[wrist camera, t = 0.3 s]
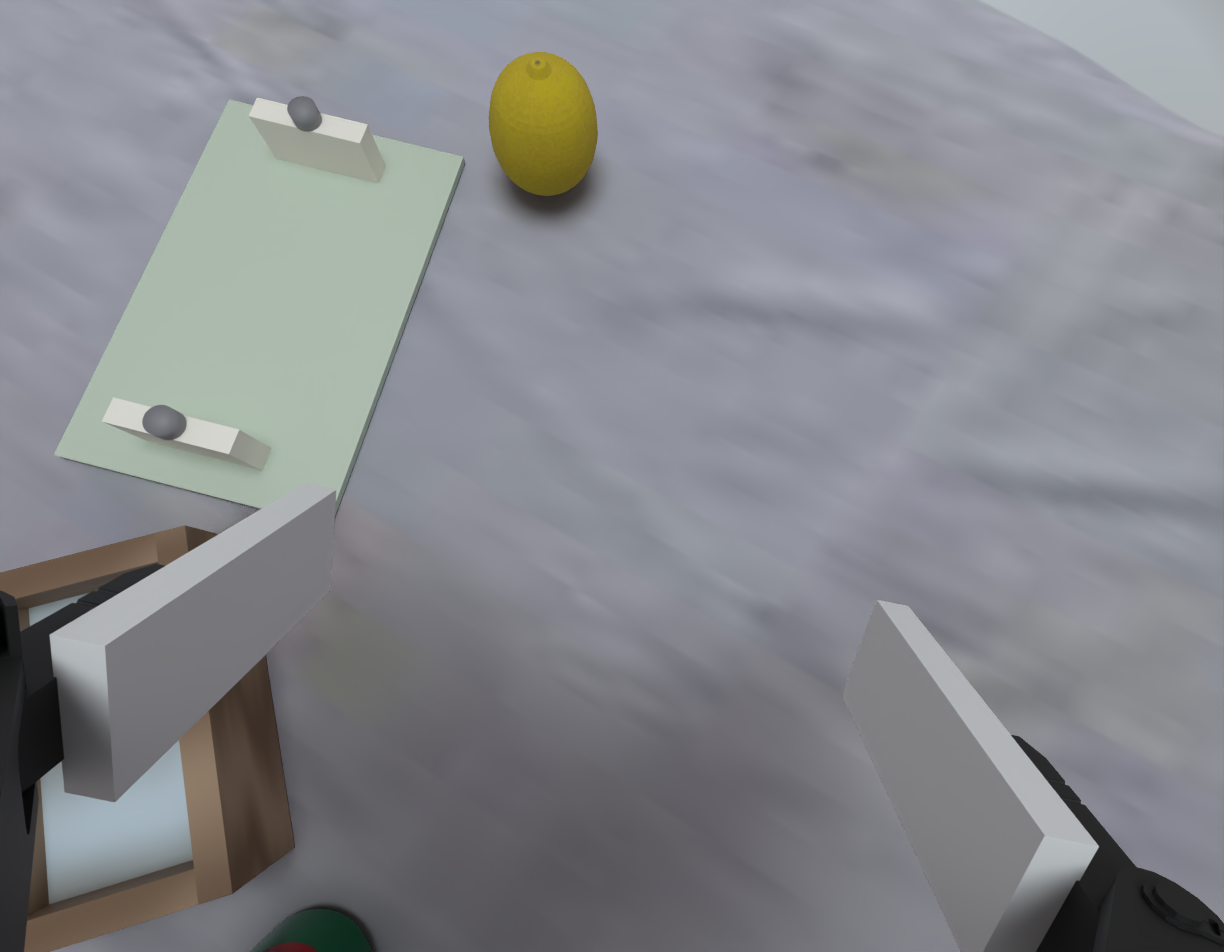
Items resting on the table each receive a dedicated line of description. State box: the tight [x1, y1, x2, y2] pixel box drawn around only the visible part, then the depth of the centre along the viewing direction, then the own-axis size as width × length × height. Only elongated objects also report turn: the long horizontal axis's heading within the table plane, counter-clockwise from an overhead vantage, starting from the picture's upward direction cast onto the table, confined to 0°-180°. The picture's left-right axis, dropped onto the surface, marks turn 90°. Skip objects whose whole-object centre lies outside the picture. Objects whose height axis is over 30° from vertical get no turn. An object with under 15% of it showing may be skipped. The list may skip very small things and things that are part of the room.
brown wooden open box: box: [0, 526, 295, 952], centre depth 26 cm, size 14×9×5 cm, turn 16°
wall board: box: [54, 96, 465, 516], centre depth 32 cm, size 22×14×4 cm, turn 166°
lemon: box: [489, 52, 598, 196], centre depth 32 cm, size 6×6×8 cm
